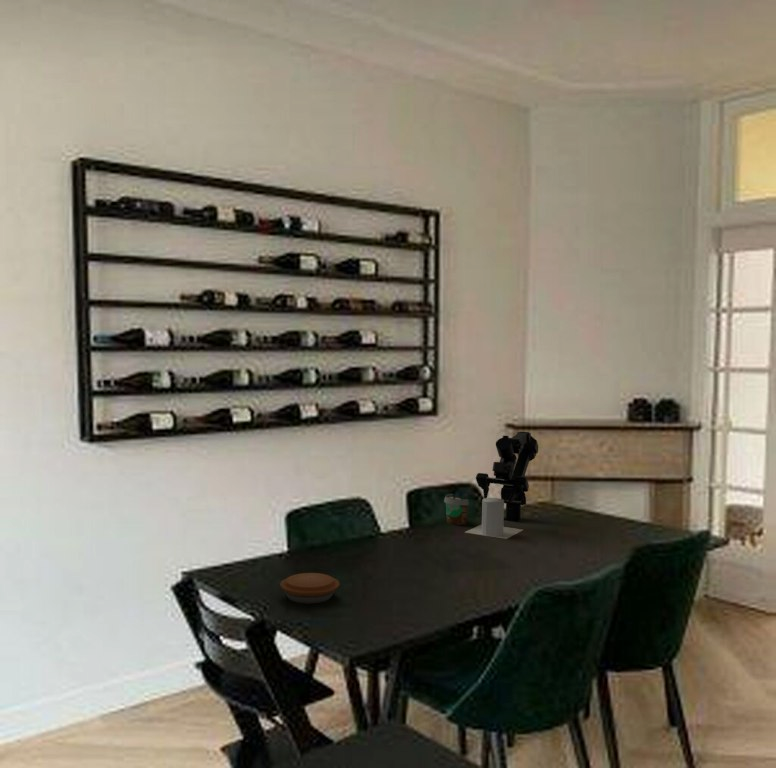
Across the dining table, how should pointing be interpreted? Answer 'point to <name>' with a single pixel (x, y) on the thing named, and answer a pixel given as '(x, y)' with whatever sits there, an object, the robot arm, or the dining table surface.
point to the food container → (456, 510)
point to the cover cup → (492, 516)
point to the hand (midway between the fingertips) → (497, 501)
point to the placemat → (506, 534)
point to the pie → (309, 587)
